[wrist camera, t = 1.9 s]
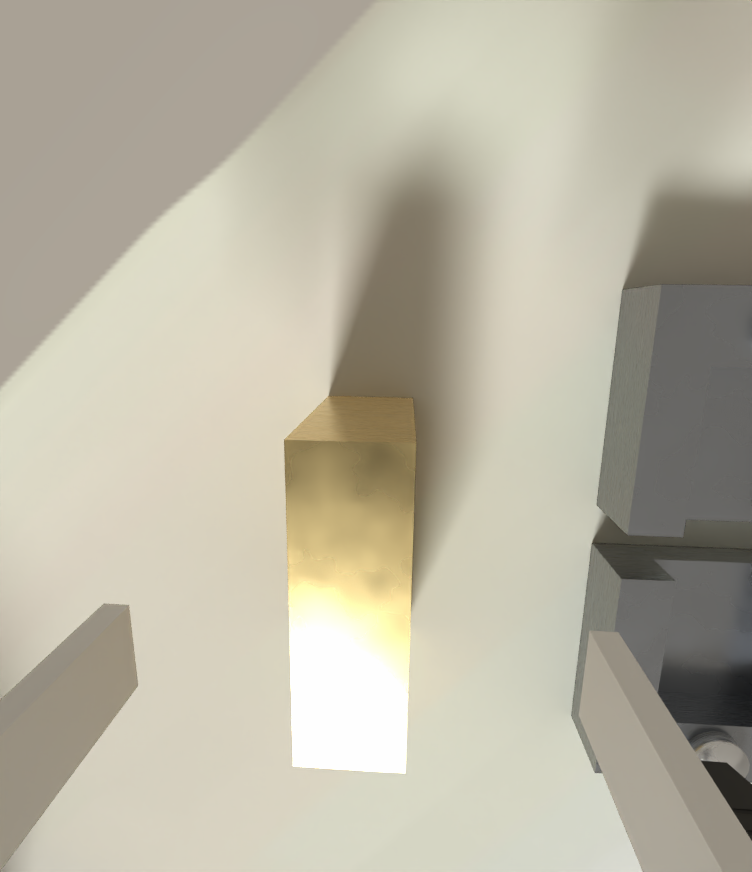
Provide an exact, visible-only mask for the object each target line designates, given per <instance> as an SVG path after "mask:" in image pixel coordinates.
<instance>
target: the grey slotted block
mask: <svg viewBox="0 0 752 872" xmlns="http://www.w3.org/2000/svg"><path fill="white" fill-rule="evenodd" d="M597 506H598V507H599V508H600V509H601V510H602V511H603V512H604V513H605V514H606V515H607V516H608V517H609V518H610V519H611V520H612V521H613V522H614V523H615V524H616V525H618V526H619V527H620V528H621V529H622V530H623V531H624V532H625V533H626V534H627V535H635V536H662V537H683V536H684V530H685V524H686V520H712V521H741V522H752V285H671V284H661V285H653V286H646V287H638V288H631V289H623V290H622V298H621V307H620V315H619V323H618V332H617V340H616V348H615V357H614V365H613V373H612V382H611V390H610V398H609V407H608V415H607V423H606V432H605V440H604V448H603V457H602V465H601V473H600V482H599V490H598V498H597ZM589 631H605V632H618V633H619V634H620V636H621V637H622V639H623V640H624V642H625V643H626V645H627V647H628V648H629V650H630V651H631V653H632V654H633V656H634V658H635V659H636V661H637V662H638V664H639V665H640V667H641V668H642V670H643V672H644V673H645V675H646V676H647V678H648V679H649V681H650V683H651V684H652V686H653V687H654V689H655V690H656V692H657V693H658V695H659V697H660V698H661V700H662V701H663V703H664V704H665V706H666V708H667V709H668V711H669V712H670V714H671V715H672V717H673V718H674V720H675V722H676V723H677V725H678V726H679V728H680V729H681V731H682V733H683V734H684V736H685V737H686V739H687V740H688V742H689V743H690V745H691V747H692V748H693V750H694V751H695V753H696V754H697V756H698V758H699V759H700V761H713V762H727V763H728V764H729V765H730V766H731V767H733V768H734V769H735V770H736V771H737V772H738V773H739V774H741V775H742V776H743V777H744V778H745V779H746V780H747V781H749V782H750V783H752V549H727V548H701V547H675V546H648V545H622V544H596V543H592V548H591V557H590V565H589V573H588V582H587V590H586V598H585V607H584V615H583V623H582V632H581V640H580V648H579V657H578V665H577V673H576V682H575V690H574V698H573V707H572V715H571V716H572V719H573V721H574V723H575V726H576V728H577V731H578V733H579V735H580V738H581V740H582V743H583V745H584V748H585V750H586V752H587V755H588V757H589V760H590V762H591V765H592V767H593V769H594V772H595V773H602V771H601V768H600V766H599V763H598V761H597V759H596V756H595V754H594V751H593V749H592V746H591V744H590V741H589V739H588V737H587V734H586V732H585V729H584V727H583V724H582V722H581V719H580V717H579V709H580V702H581V694H582V686H583V678H584V670H585V663H586V655H587V647H588V639H589Z"/></svg>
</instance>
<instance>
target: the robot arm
mask: <svg viewBox="0 0 752 872" xmlns="http://www.w3.org/2000/svg"><path fill="white" fill-rule="evenodd" d="M137 687H138V681H137V672H136V663H135V654H134V645H133V637H132V628H131V619H130V610H129V605H119V604H103V605H102V606H101V607H100V608H99V609H97V610H96V611H95V612H94V613H93V614H92V615H91V616H90V617H89V618H88V619H87V620H86V621H85V622H84V623H82V624H81V625H80V626H79V627H78V628H77V629H76V630H75V631H74V632H73V633H72V634H71V635H70V636H69V637H67V638H66V639H65V640H64V641H63V642H62V643H61V644H60V645H59V646H58V647H57V648H56V649H55V650H53V651H52V652H51V653H50V654H49V655H48V656H47V657H46V658H45V659H44V660H43V661H42V662H41V663H40V664H38V665H37V666H36V667H35V668H34V669H33V670H32V671H31V672H30V673H29V674H28V675H27V676H26V677H25V678H23V679H22V680H21V681H20V682H19V683H18V684H17V685H16V686H15V687H14V688H13V689H12V690H11V691H9V692H8V693H7V694H6V695H5V696H4V697H3V698H2V699H1V700H0V871H1V869H2V868H3V867H4V865H5V864H6V863H7V861H8V860H9V859H10V857H11V856H12V855H13V853H14V852H15V850H16V849H17V848H18V846H19V845H20V844H21V842H22V841H23V840H24V838H25V837H26V836H27V834H28V833H29V832H30V830H31V829H32V828H33V826H34V825H35V824H36V822H37V821H38V820H39V818H40V817H41V816H42V814H43V813H44V812H45V810H46V809H47V807H48V806H49V805H50V803H51V802H52V801H53V799H54V798H55V797H56V795H57V794H58V793H59V791H60V790H61V789H62V787H63V786H64V785H65V783H66V782H67V781H68V779H69V778H70V777H71V775H72V774H73V773H74V771H75V770H76V768H77V767H78V766H79V764H80V763H81V762H82V760H83V759H84V758H85V756H86V755H87V754H88V752H89V751H90V750H91V748H92V747H93V746H94V744H95V743H96V742H97V740H98V739H99V738H100V736H101V735H102V734H103V732H104V731H105V730H106V728H107V727H108V725H109V724H110V723H111V721H112V720H113V719H114V717H115V716H116V715H117V713H118V712H119V711H120V709H121V708H122V707H123V705H124V704H125V703H126V701H127V700H128V699H129V697H130V696H131V695H132V693H133V692H134V691H135V689H136V688H137ZM579 717H580V719H581V722H582V724H583V727H584V729H585V732H586V734H587V737H588V739H589V741H590V744H591V746H592V749H593V751H594V754H595V756H596V759H597V761H598V763H599V766H600V768H601V771H602V773H603V776H604V778H605V781H606V783H607V785H608V788H609V790H610V793H611V795H612V798H613V800H614V803H615V805H616V807H617V810H618V812H619V815H620V817H621V820H622V822H623V825H624V827H625V830H626V832H627V834H628V837H629V839H630V842H631V844H632V847H633V849H634V852H635V854H636V856H637V859H638V861H639V864H640V866H641V869H642V871H643V872H752V784H751V783H750V782H749V781H747V780H746V779H745V778H744V777H743V776H742V775H741V774H739V773H738V772H737V771H736V770H735V769H734V768H733V767H731V766H730V765H729V764H728V763H727V762H713V761H700V759H699V758H698V756H697V754H696V753H695V751H694V750H693V748H692V747H691V745H690V743H689V742H688V740H687V739H686V737H685V736H684V734H683V733H682V731H681V729H680V728H679V726H678V725H677V723H676V722H675V720H674V718H673V717H672V715H671V714H670V712H669V711H668V709H667V708H666V706H665V704H664V703H663V701H662V700H661V698H660V697H659V695H658V693H657V692H656V690H655V689H654V687H653V686H652V684H651V683H650V681H649V679H648V678H647V676H646V675H645V673H644V672H643V670H642V668H641V667H640V665H639V664H638V662H637V661H636V659H635V658H634V656H633V654H632V653H631V651H630V650H629V648H628V647H627V645H626V643H625V642H624V640H623V639H622V637H621V636H620V634H619V633H618V632H605V631H589V639H588V647H587V655H586V663H585V670H584V678H583V686H582V694H581V702H580V709H579Z"/></svg>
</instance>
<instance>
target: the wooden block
mask: <svg viewBox="0 0 752 872" xmlns="http://www.w3.org/2000/svg"><path fill="white" fill-rule="evenodd" d="M284 451H285V486H286V522H287V558H288V594H289V629H290V665H291V701H292V737H293V766H299V767H315V768H330V769H346V770H362V771H377V772H393V773H405V770H406V739H407V709H408V679H409V649H410V618H411V588H412V558H413V528H414V498H415V467H416V433H415V419H414V405H413V398H396V397H352V396H328V397H327V398H326V399H325V400H324V401H323V402H322V403H321V404H320V405H319V406H318V407H317V408H316V409H315V410H314V411H313V412H312V413H311V414H310V415H309V416H308V417H307V418H306V419H305V420H304V421H303V422H302V423H301V424H300V425H299V426H298V427H297V428H296V429H295V430H294V431H293V432H292V433H291V434H290V435H289V436H288V437H287V438H285V439H284Z"/></svg>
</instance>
